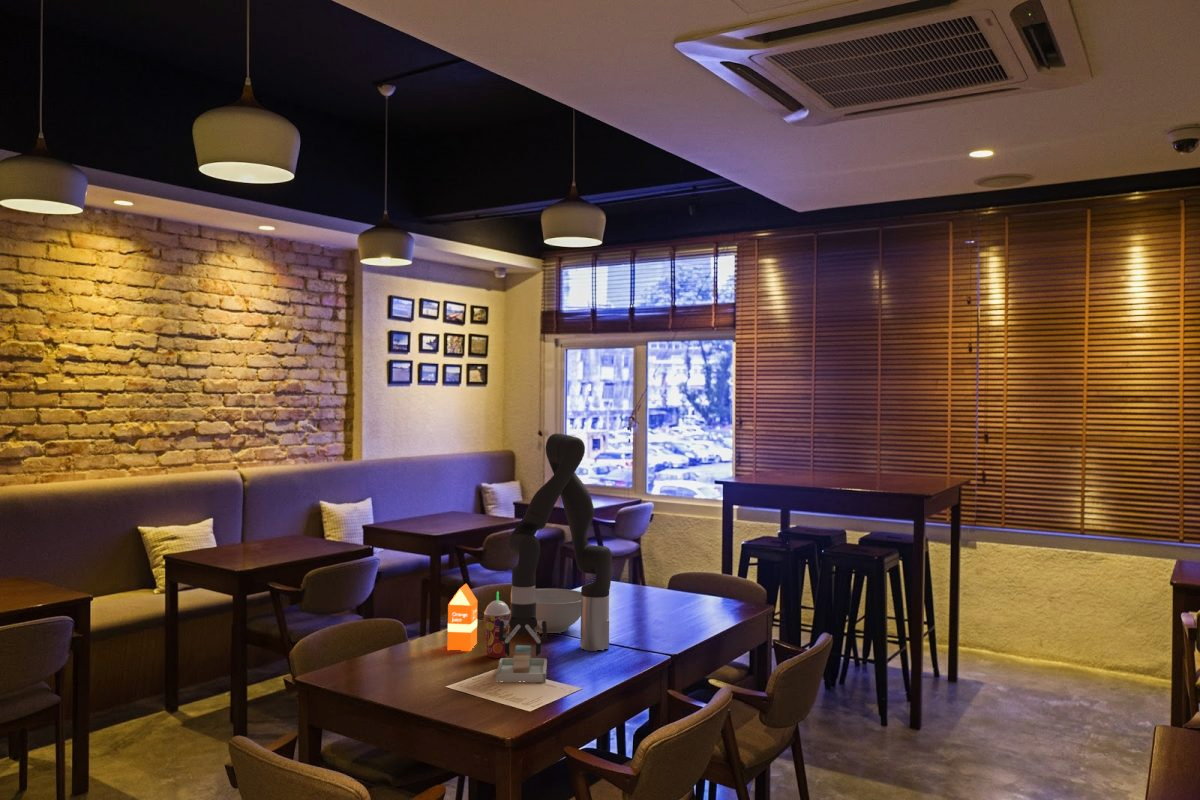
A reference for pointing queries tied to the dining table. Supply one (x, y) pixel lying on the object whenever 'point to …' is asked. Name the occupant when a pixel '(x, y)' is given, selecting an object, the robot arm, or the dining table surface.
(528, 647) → the teal block
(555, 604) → the decorative bowl
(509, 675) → the tray
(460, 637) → the orange juice
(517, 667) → the beech block
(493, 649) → the smoothie
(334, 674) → the dining table surface
